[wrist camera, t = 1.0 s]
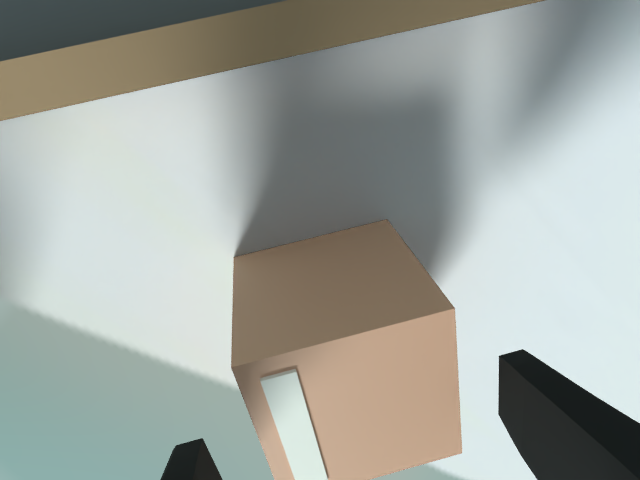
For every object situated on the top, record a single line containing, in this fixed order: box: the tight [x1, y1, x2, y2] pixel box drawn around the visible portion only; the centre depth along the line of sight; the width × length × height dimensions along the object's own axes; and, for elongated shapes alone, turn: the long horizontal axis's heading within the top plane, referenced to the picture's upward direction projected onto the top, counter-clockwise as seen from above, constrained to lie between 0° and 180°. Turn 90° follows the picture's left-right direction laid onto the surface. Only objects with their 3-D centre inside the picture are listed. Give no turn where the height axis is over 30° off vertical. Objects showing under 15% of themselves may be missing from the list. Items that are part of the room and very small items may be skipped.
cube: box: [231, 219, 462, 480], centre depth 13 cm, size 5×5×5 cm
